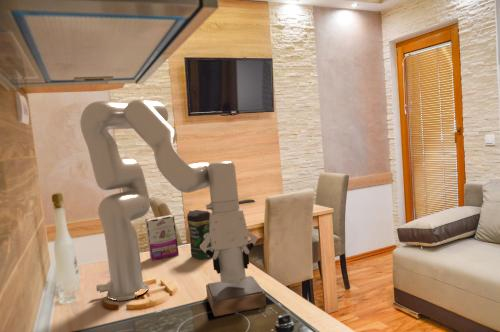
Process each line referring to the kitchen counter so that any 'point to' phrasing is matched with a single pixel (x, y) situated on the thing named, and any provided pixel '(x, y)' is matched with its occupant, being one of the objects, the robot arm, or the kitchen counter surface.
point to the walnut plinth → (235, 296)
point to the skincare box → (232, 264)
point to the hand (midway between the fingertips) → (231, 269)
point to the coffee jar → (198, 232)
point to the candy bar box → (161, 237)
